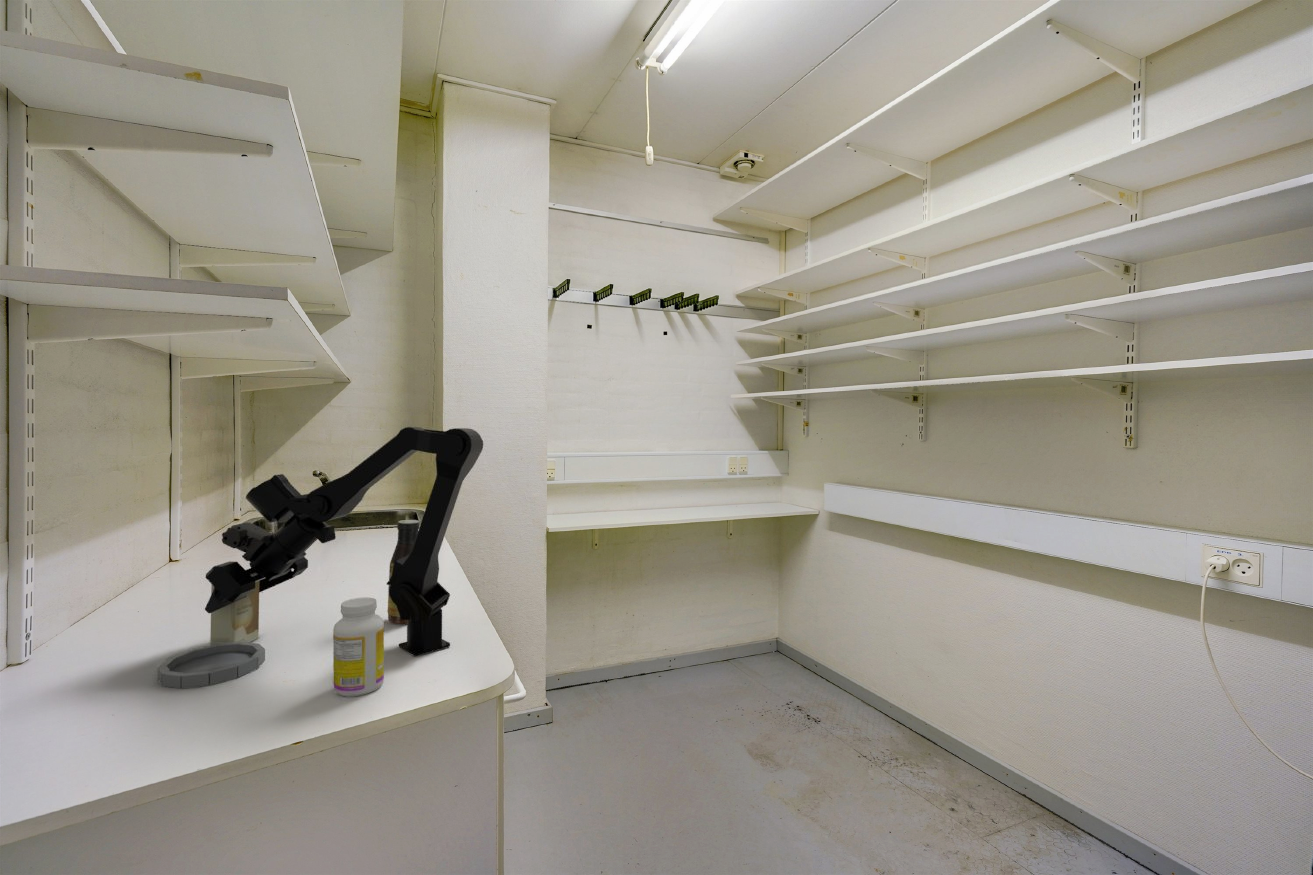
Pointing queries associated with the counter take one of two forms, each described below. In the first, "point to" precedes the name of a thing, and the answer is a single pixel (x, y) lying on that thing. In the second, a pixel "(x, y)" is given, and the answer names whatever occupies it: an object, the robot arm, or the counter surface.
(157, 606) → the counter surface
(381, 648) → the supplement bottle
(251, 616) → the skincare box
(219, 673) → the round tray
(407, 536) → the sauce bottle
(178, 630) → the counter surface
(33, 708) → the counter surface
